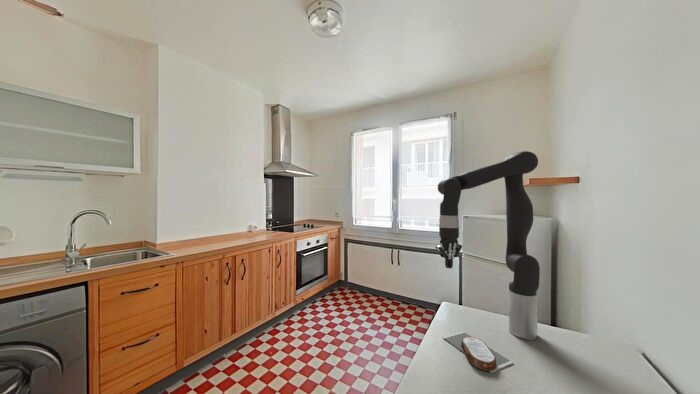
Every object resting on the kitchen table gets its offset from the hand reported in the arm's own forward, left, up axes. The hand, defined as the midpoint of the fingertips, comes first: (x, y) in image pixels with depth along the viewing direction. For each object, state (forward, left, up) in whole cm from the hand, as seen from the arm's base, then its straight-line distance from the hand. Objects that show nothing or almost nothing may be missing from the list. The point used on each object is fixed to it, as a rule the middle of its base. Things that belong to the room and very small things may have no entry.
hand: (448, 267), depth 97 cm
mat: (0, +12, -27) cm, 30 cm away
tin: (+6, +13, -25) cm, 29 cm away
